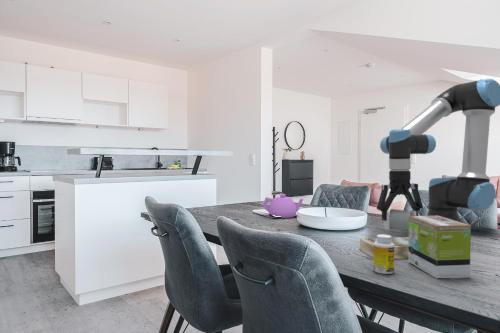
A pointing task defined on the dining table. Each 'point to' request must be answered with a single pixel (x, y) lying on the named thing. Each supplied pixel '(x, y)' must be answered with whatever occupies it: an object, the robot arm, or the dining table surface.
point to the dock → (399, 242)
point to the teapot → (282, 206)
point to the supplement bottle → (383, 255)
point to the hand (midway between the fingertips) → (400, 228)
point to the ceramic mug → (399, 219)
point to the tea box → (440, 246)
